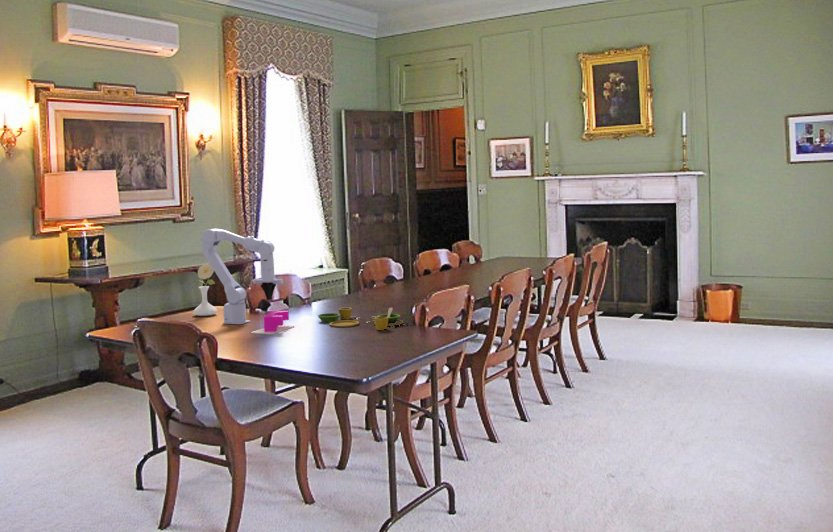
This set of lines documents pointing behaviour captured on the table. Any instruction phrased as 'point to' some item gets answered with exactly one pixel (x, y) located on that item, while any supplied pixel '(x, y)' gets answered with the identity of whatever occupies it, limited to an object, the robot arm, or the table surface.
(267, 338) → the table surface
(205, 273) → the flower in vase
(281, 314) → the toy block
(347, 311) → the tableware set
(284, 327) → the mat
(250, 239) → the robot arm
